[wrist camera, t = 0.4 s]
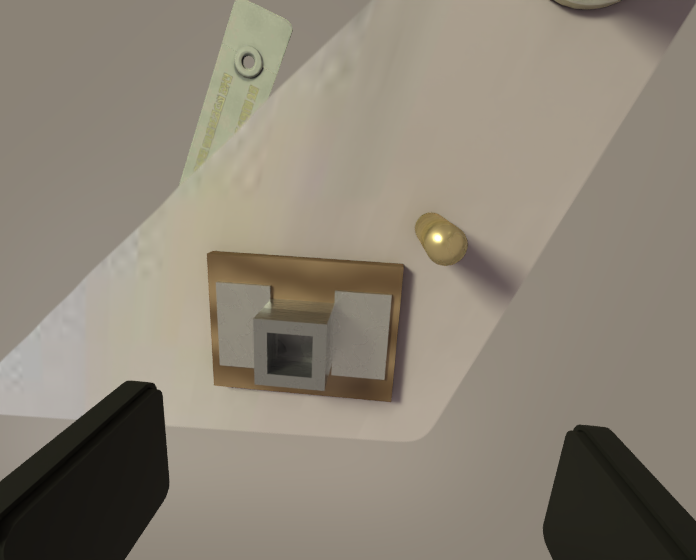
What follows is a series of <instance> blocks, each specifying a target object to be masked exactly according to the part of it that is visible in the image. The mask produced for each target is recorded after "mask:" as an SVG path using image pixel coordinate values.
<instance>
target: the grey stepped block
mask: <svg viewBox="0 0 696 560" xmlns="http://www.w3.org/2000/svg"><path fill="white" fill-rule="evenodd" d="M391 298H392V294H382V293H369V292H355V291H342V290H335V300H334V303H325V302H312V301H299V300H286V299H273V298H271V285H261V284H247V283H234V282H220V281H217V282H216V299H217V319H218V339H219V359H220V365H224V366H235V367H246V368H254V382H255V385H265V386H276V387H287V388H298V389H308V390H319V391H325V387H326V384H327V380H328V376H329V372H330V368H331V364H332V371H331V375H335V376H346V377H357V378H368V379H380V380H384V379H385V367H386V356H387V344H388V332H389V321H390V309H391Z"/></svg>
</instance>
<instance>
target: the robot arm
mask: <svg viewBox="0 0 696 560" xmlns="http://www.w3.org/2000/svg"><path fill="white" fill-rule="evenodd" d="M554 1H556V2H558V3H559V4H561V5H565V6H568V7H571V8H575V9H595V8H603V7H606V6H609V5H612V4H615V3H618V2H620V1H621V0H554ZM168 489H169V470H168V457H167V445H166V433H165V420H164V407H163V395H162V392H161V391H160V390H157V388H156V386H155V384H153V383H150V382H140V381H126V382H124V383H123V384H121V385H120V386H119V387H118V388H116V389H115V390H114V391H113V392H111V393H110V394H109V395H108V396H106V397H105V398H104V399H103V400H101V401H100V402H99V403H98V404H96V405H95V406H94V407H93V408H91V409H90V410H89V411H88V412H86V413H85V414H84V415H83V416H81V417H80V418H79V419H78V420H76V421H75V422H74V423H73V424H72V425H70V426H69V427H68V428H66V429H65V430H64V431H63V432H61V433H60V434H59V435H58V436H57V437H55V438H54V439H53V440H52V441H50V442H49V443H48V444H46V445H45V446H44V447H43V448H41V449H40V450H39V451H38V452H37V453H35V454H34V455H33V456H31V457H30V458H29V459H28V460H26V461H25V462H24V463H23V464H21V465H20V466H19V467H18V468H16V469H15V470H14V471H13V472H11V473H10V474H9V475H8V476H6V477H5V478H4V479H3V480H2V481H1V482H0V560H125V558H126V557H127V555H128V554H129V552H130V551H131V549H132V548H133V546H134V545H135V543H136V541H137V540H138V538H139V537H140V536H141V534H142V533H143V531H144V530H145V528H146V527H147V525H148V524H149V522H150V521H151V519H152V518H153V516H154V515H155V513H156V512H157V510H158V509H159V507H160V506H161V504H162V503H163V501H164V499H165V498H166V495H167V493H168ZM543 535H544V540H545V543H546V546H547V548H548V550H549V552H550V554H551V557H552V559H553V560H696V521H695V520H694V519H693V518H692V516H690V514H689V513H688V512H687V511H686V510H685V509H684V508H683V507H682V506H681V505H680V504H679V503H678V501H677V500H676V499H675V498H674V497H673V496H672V495H671V494H670V493H669V492H668V491H667V490H666V489H665V487H663V485H662V484H661V483H660V482H659V481H658V480H657V479H656V478H655V477H654V476H653V475H652V474H651V472H650V471H649V470H648V469H647V468H646V467H645V466H644V465H643V464H642V463H641V462H640V461H639V460H638V459H637V458H636V457H635V455H634V454H633V453H632V452H631V451H630V450H629V449H628V448H627V447H626V446H625V445H624V443H623V442H622V441H621V440H620V439H619V438H618V437H617V436H616V435H615V434H614V433H613V432H612V431H611V430H610V429H609V428H606V427H598V426H589V425H577V426H576V427H575V428H574V430H573V431H568V432H567V434H566V436H565V440H564V444H563V448H562V452H561V456H560V460H559V464H558V468H557V472H556V476H555V480H554V484H553V488H552V492H551V496H550V500H549V504H548V508H547V512H546V516H545V521H544V524H543Z"/></svg>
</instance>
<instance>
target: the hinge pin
mask: <svg viewBox="0 0 696 560" xmlns="http://www.w3.org/2000/svg"><path fill="white" fill-rule="evenodd" d="M415 233H416V235H417V237H418V239H419V241H420V242H421V244H422V246H423V248H424V249H425V251H426V253H427V254H428V256H429V258H430V259H431V260H432V261H433V262H435V263H436V264H439V265H443V266H448V265H453V264H455V263H457V262H459V261H460V260H461V259H462V258H463V257H464V255H465V253H466V251H467V246H468V243H467V238H466V236H465V234H464V233H463V232H462V230H460V229H459V228H457V227H456V226H455V225H453V224H452V223H450V222H449V221H447V220H446V219H445V218H443V217H442V216H440V215H439V214H436V213H426V214H424V215H422V216H421V217H420V218H419V219H418V220H417V222H416V225H415Z"/></svg>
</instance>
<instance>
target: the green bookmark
mask: <svg viewBox="0 0 696 560" xmlns="http://www.w3.org/2000/svg"><path fill="white" fill-rule="evenodd" d="M292 31H293V30H292V26H291V24H290V23H289V22H288V21H287V20H286V19H284V18H282V17H280V16H278V15H276V14H274V13H272V12H270V11H268V10H266V9H264V8H262V7H260V6H258V5H256V4H254V3H252V2H250V1H248V0H236V1H235V2H234V6H233V9H232V12H231V15H230V19H229V22H228V26H227V29H226V32H225V35H224V38H223V42H222V45H221V48H220V52H219V55H218V58H217V61H216V65H215V68H214V72H213V75H212V78H211V81H210V85H209V88H208V91H207V94H206V98H205V101H204V105H203V108H202V111H201V115H200V117H199V121H198V124H197V128H196V131H195V134H194V137H193V140H192V144H191V147H190V151H189V154H188V157H187V160H186V164H185V167H184V170H183V173H182V177H181V180H180V183H179V186H180V185H181V184H182V183H183V182H184V181H185V180H186V179H187V178H188V177H189V176H190V175H191V174H192V173H193V172H194V171H195V170H196V169H198V167H200V166H201V165H202V164H203V163H204V162H205V161H206V160H207V159H208V158H209V157H210V156H211V155H213V153H215V152H216V151H217V150H218V149H219V148H220V147H221V146H222V145H223V144H224V143H225V142H226V141H227V140H228V139H229V138H230V137H231V136H232V135H233V134H234V133H235V132H236V131H237V130H238V129H239V128H240V127H241V126H242V125H243V124H244V123H245V122H246V121H247V119H248V118H249V117H250V116H251V115H252V114H253V113H254V112H255V111H256V110H257V109H258V108H259V107H260V106H261V105H262V104H263V103H264V102H265V101H266V100H267V99H268V98H269V96H270V93H271V90H272V87H273V85H274V82H275V79H276V76H277V73H278V71H279V68H280V65H281V62H282V59H283V56H284V54H285V51H286V48H287V45H288V42H289V39H290V37H291V34H292ZM246 56H252V57H253V59H254V61H255V64H254V66H253V67H252V68H251V69H248V68H246V67H245V66H244V58H245V57H246Z"/></svg>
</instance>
